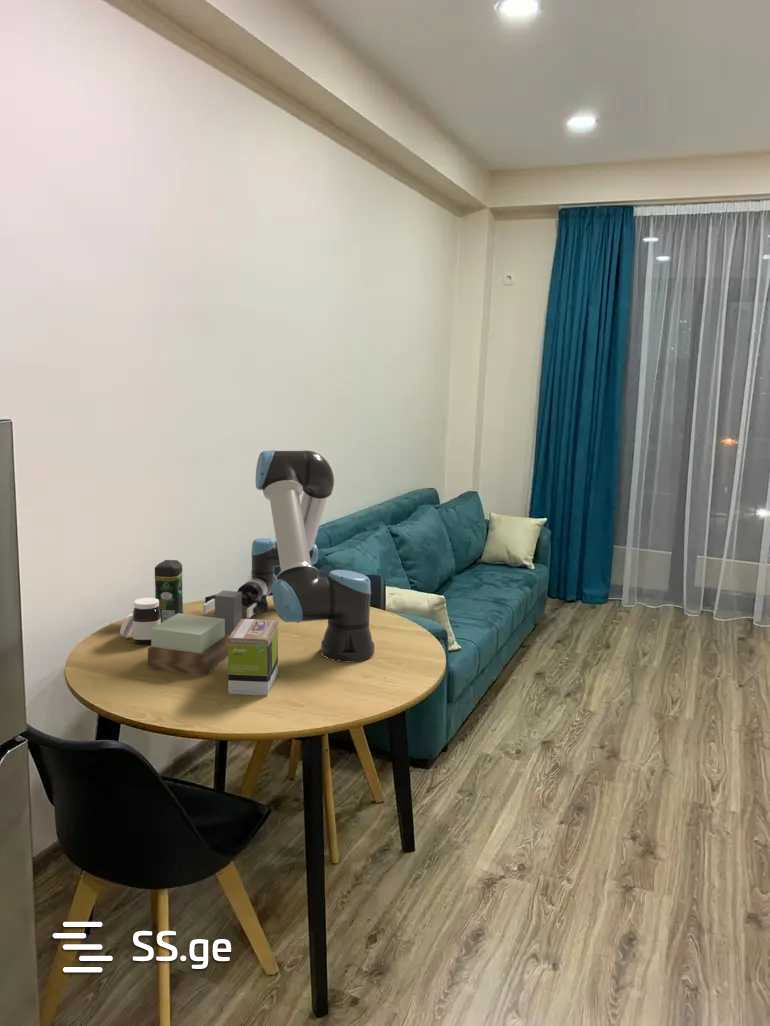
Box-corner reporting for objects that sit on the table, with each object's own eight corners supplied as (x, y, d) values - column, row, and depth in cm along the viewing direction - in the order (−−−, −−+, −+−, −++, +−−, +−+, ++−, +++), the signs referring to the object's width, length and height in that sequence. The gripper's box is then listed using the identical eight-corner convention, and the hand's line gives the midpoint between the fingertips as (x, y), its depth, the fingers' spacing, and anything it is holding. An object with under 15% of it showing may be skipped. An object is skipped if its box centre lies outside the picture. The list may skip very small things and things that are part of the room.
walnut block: (229, 655, 209) (230, 635, 208) (206, 677, 194) (206, 655, 193) (176, 649, 212) (175, 629, 211) (148, 670, 197) (147, 648, 196)
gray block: (241, 630, 229) (241, 592, 227) (233, 636, 223) (234, 597, 221) (222, 628, 230) (223, 590, 228) (214, 634, 224) (215, 595, 222)
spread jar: (160, 645, 214) (159, 605, 212) (117, 647, 211) (117, 607, 209) (161, 631, 225) (161, 593, 223) (121, 633, 222) (121, 594, 220)
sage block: (224, 636, 207) (224, 618, 206) (200, 653, 194) (200, 634, 193) (178, 630, 210) (178, 613, 209) (151, 646, 197) (151, 628, 196)
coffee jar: (160, 614, 241) (159, 557, 238) (185, 615, 241) (185, 558, 238) (152, 624, 231) (151, 565, 228) (178, 624, 232) (177, 565, 229)
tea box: (240, 671, 198) (241, 616, 195) (278, 673, 197) (279, 618, 195) (226, 694, 183) (227, 636, 180) (268, 696, 183) (269, 638, 180)
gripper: (288, 607, 243) (265, 627, 223) (215, 600, 248) (186, 619, 227) (289, 585, 242) (266, 603, 222) (215, 578, 247) (186, 595, 226)
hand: (226, 611), depth 224 cm, fingers open, 13 cm apart
